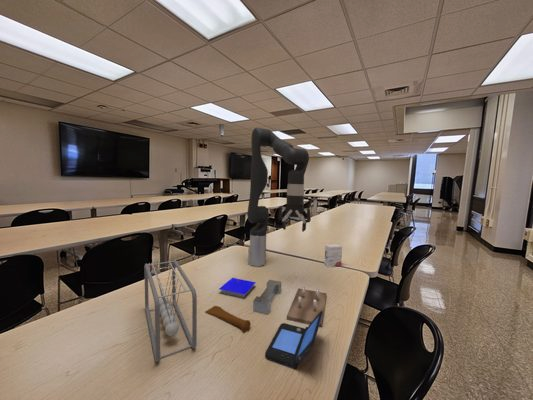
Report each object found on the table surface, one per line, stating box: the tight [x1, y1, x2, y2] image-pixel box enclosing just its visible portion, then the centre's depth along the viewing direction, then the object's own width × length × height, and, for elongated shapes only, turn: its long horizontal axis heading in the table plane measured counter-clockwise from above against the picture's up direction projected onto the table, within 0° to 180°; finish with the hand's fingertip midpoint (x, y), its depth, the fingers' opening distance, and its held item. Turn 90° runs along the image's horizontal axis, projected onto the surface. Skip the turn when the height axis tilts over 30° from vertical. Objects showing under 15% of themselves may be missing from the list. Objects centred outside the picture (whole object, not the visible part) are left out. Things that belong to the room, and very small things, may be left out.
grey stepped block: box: [252, 279, 282, 315], centre depth 93 cm, size 6×19×4 cm, turn 161°
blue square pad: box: [218, 277, 257, 299], centre depth 100 cm, size 12×12×5 cm
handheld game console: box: [264, 311, 323, 370], centre depth 67 cm, size 16×13×9 cm
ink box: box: [323, 243, 343, 267], centre depth 132 cm, size 9×5×12 cm, turn 103°
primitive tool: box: [204, 305, 251, 333], centre depth 80 cm, size 19×6×4 cm, turn 55°
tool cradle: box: [286, 286, 327, 328], centre depth 88 cm, size 12×22×5 cm, turn 161°
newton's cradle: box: [143, 259, 198, 363], centre depth 73 cm, size 30×10×18 cm, turn 33°
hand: (293, 230), depth 103 cm, fingers open, 8 cm apart
